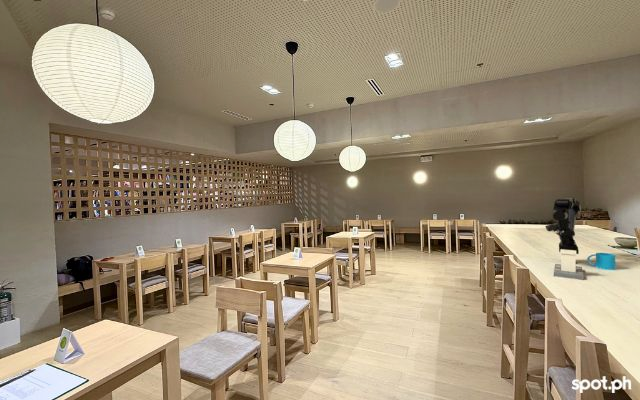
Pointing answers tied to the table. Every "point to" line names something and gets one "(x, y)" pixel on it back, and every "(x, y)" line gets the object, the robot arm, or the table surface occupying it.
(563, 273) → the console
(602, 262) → the mug
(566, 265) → the cream lidded box
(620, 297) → the table surface
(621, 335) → the table surface
